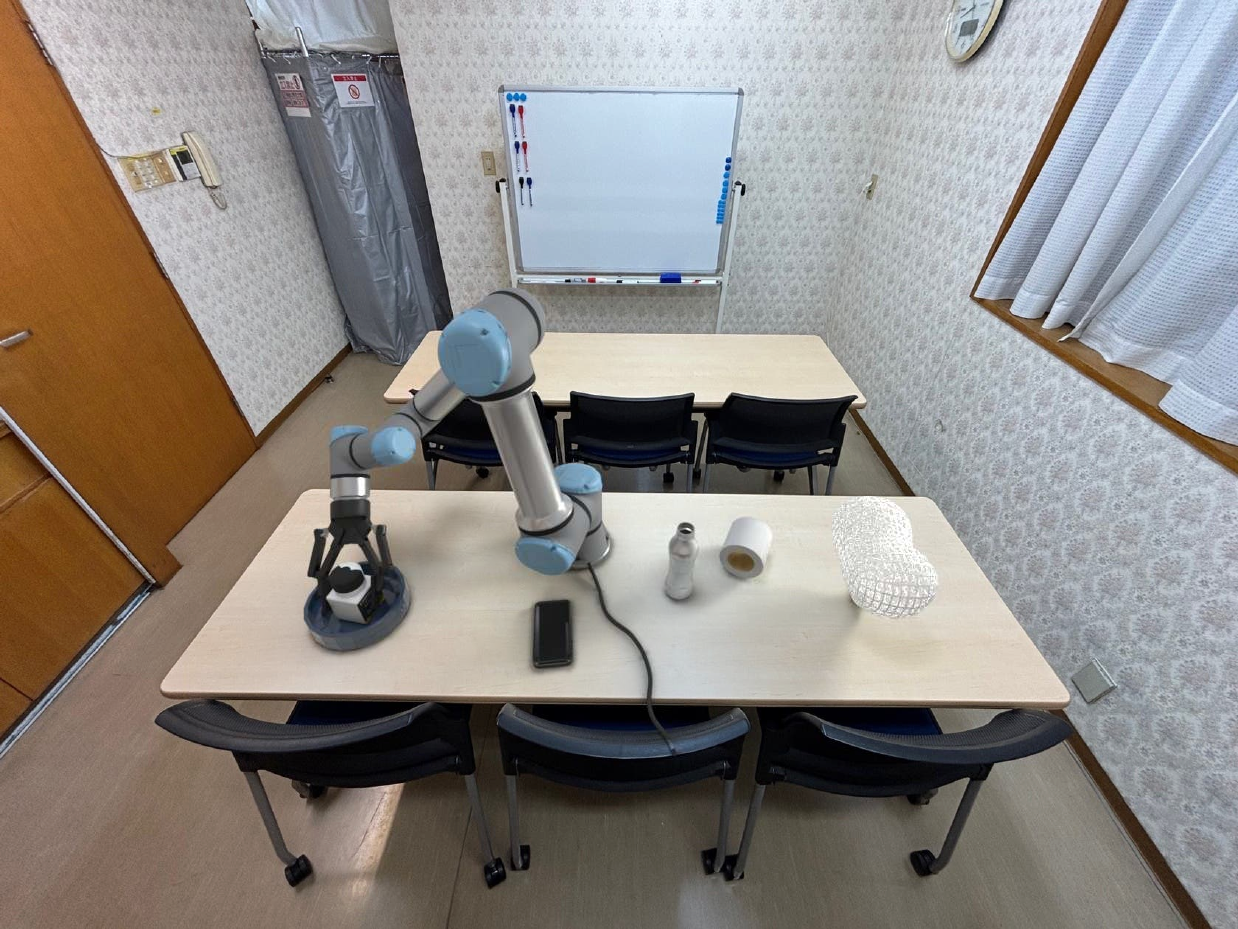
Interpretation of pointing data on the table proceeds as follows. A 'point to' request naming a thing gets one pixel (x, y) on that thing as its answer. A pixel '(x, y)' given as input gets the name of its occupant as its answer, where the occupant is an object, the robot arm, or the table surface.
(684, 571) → the plastic bottle
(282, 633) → the table surface
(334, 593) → the medicine bottle
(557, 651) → the phone
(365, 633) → the bowl
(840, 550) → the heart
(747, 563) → the toilet paper
